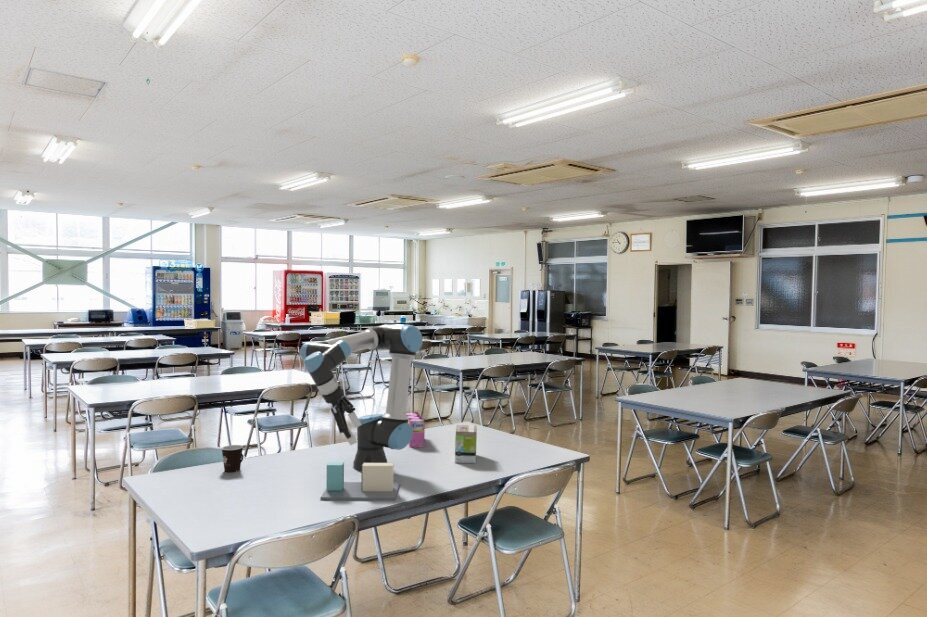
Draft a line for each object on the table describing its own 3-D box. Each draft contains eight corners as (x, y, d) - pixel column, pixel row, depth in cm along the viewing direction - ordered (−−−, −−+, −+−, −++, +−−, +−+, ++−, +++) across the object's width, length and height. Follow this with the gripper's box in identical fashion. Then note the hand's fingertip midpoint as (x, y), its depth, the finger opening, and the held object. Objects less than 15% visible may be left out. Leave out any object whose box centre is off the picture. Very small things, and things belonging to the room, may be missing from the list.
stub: (326, 490, 230) (326, 465, 230) (328, 487, 234) (328, 462, 234) (342, 490, 230) (342, 465, 230) (343, 487, 234) (344, 462, 234)
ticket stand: (320, 499, 223) (320, 470, 223) (330, 484, 241) (330, 457, 241) (394, 500, 223) (395, 471, 223) (399, 484, 241) (399, 458, 241)
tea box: (476, 463, 272) (476, 431, 272) (454, 463, 273) (454, 431, 272) (476, 454, 287) (476, 424, 287) (455, 454, 288) (455, 424, 287)
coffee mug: (220, 468, 261) (220, 446, 260) (241, 466, 265) (241, 444, 264) (223, 476, 250) (223, 452, 250) (244, 473, 254) (244, 450, 254)
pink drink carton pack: (402, 436, 322) (403, 411, 322) (417, 435, 324) (417, 411, 324) (409, 447, 299) (409, 421, 299) (424, 446, 301) (425, 420, 301)
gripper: (333, 400, 214) (360, 447, 220) (344, 373, 238) (368, 416, 244) (315, 408, 215) (342, 455, 221) (327, 380, 239) (351, 423, 245)
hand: (356, 434), depth 232 cm, fingers open, 13 cm apart
